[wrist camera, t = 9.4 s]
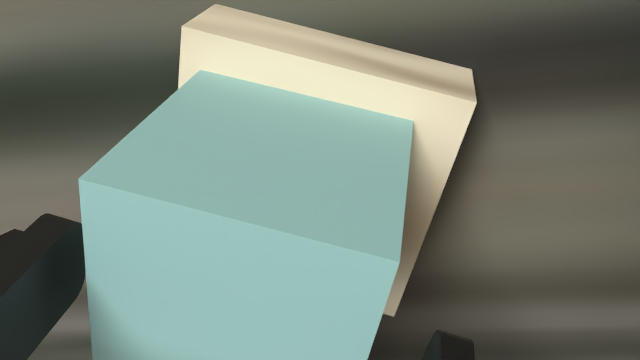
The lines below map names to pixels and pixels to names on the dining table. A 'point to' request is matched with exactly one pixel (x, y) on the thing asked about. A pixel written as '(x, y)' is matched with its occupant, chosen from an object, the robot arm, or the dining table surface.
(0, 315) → the robot arm
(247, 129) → the teal cube
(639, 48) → the dining table surface
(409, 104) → the maple pedestal
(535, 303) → the dining table surface
